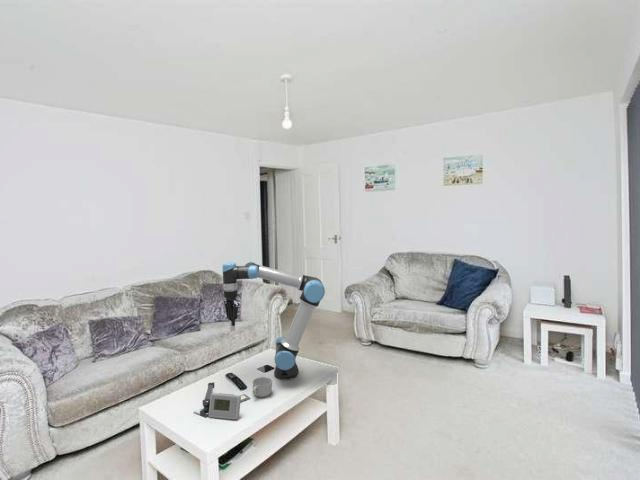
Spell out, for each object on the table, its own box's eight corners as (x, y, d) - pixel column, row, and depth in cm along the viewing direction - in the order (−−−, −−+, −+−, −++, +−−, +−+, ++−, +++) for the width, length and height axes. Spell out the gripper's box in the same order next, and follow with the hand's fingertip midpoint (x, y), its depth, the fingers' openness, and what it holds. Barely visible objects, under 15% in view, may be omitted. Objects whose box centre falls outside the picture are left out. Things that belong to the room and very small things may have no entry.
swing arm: (210, 406, 181) (210, 401, 181) (202, 407, 181) (201, 402, 181) (215, 386, 203) (215, 382, 203) (207, 386, 202) (207, 382, 202)
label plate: (244, 394, 201) (244, 393, 201) (250, 398, 196) (250, 397, 196) (231, 400, 195) (231, 398, 195) (237, 404, 191) (236, 402, 191)
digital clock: (206, 417, 179) (205, 396, 178) (218, 408, 187) (217, 388, 186) (233, 424, 172) (232, 402, 172) (244, 414, 181) (244, 393, 180)
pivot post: (210, 407, 188) (210, 400, 188) (216, 412, 183) (216, 405, 183) (197, 412, 184) (197, 404, 183) (203, 418, 178) (203, 410, 178)
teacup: (262, 388, 208) (262, 374, 208) (276, 393, 202) (276, 379, 201) (244, 398, 197) (243, 384, 196) (258, 404, 191) (258, 389, 190)
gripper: (218, 289, 209) (221, 330, 210) (230, 292, 199) (232, 335, 201) (230, 287, 214) (232, 327, 215) (242, 290, 204) (244, 331, 206)
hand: (232, 330), depth 208 cm, fingers closed
